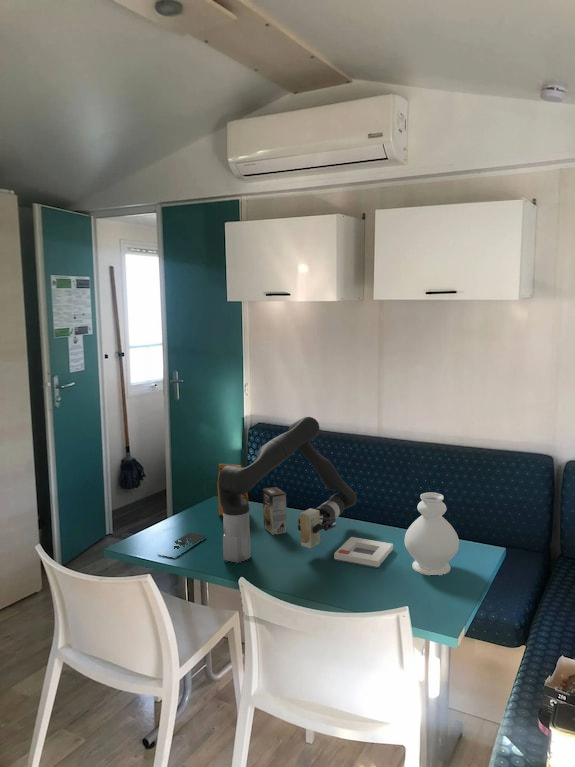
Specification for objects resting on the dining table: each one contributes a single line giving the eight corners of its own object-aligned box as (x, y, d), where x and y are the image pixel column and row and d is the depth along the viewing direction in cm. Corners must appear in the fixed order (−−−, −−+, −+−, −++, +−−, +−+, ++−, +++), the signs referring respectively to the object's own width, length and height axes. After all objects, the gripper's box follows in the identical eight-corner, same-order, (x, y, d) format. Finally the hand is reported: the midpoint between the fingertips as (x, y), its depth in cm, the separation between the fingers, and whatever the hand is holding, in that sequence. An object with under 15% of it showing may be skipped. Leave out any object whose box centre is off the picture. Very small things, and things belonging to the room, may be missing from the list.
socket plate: (378, 568, 216) (378, 559, 215) (334, 560, 223) (334, 551, 222) (392, 550, 230) (392, 542, 229) (351, 543, 237) (351, 535, 236)
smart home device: (156, 551, 231) (189, 532, 248) (156, 556, 231) (189, 536, 249) (175, 555, 227) (206, 535, 245) (175, 560, 227) (207, 539, 245)
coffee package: (241, 520, 262) (239, 468, 259) (215, 517, 267) (213, 466, 264) (252, 512, 271) (250, 462, 268) (226, 509, 276) (224, 459, 273)
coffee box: (263, 527, 254) (261, 488, 252) (277, 524, 257) (276, 486, 254) (272, 535, 246) (271, 495, 244) (287, 532, 249) (286, 492, 246)
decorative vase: (394, 561, 221) (394, 491, 217) (438, 552, 227) (439, 484, 223) (423, 583, 204) (423, 508, 200) (469, 573, 210) (471, 500, 206)
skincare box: (310, 540, 230) (310, 507, 228) (320, 542, 227) (320, 510, 225) (300, 546, 225) (299, 512, 223) (309, 548, 222) (309, 515, 220)
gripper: (308, 501, 240) (288, 516, 225) (344, 506, 234) (325, 522, 219) (309, 520, 242) (288, 536, 227) (344, 526, 235) (325, 543, 220)
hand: (306, 529), depth 223 cm, fingers closed on skincare box, 5 cm apart
